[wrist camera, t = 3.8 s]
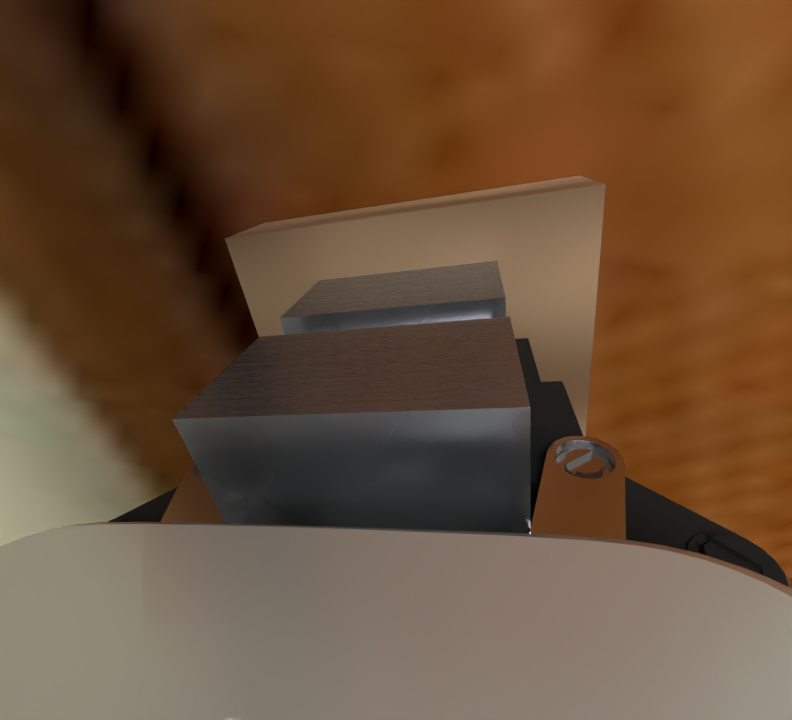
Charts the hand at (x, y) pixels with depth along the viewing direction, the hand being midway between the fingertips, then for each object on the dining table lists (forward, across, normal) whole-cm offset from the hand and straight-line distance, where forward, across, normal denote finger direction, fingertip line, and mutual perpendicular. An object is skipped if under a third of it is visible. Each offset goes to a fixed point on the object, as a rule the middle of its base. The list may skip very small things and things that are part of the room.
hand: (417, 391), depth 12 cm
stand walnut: (+3, 0, 0) cm, 3 cm away
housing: (+1, 0, 0) cm, 1 cm away
